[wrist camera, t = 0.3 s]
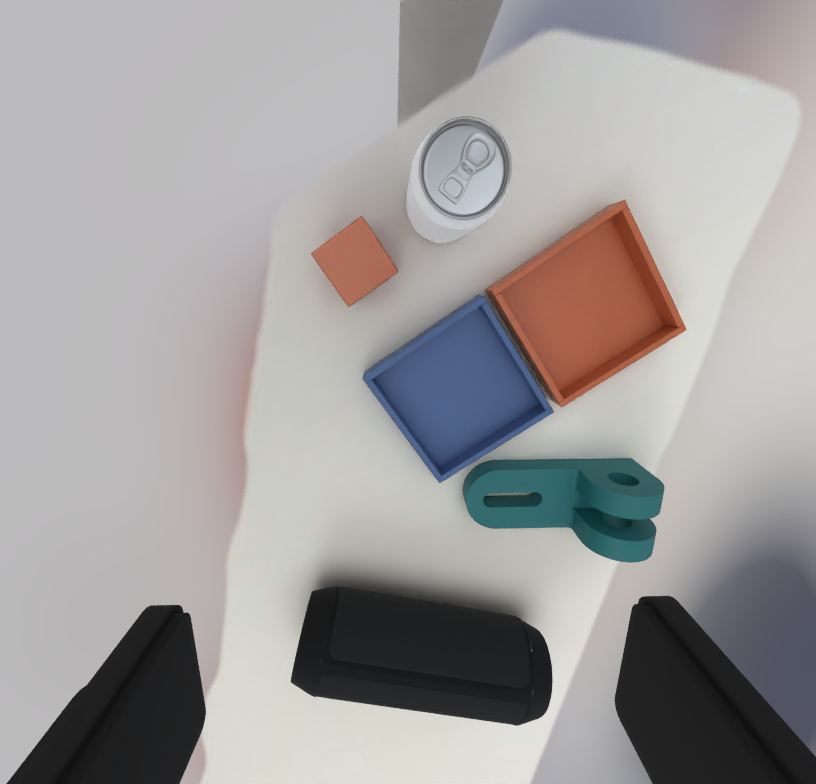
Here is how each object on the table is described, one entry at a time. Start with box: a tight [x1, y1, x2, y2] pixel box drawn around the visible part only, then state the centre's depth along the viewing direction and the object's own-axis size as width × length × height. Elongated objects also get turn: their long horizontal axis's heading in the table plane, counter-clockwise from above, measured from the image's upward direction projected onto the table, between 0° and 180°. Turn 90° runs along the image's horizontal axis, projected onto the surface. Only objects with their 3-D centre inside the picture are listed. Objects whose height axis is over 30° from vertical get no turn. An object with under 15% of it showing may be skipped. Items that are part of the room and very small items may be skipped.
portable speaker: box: [291, 586, 552, 726], centre depth 43 cm, size 26×10×10 cm, turn 77°
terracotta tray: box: [486, 200, 686, 407], centre depth 37 cm, size 13×13×2 cm
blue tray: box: [363, 295, 554, 483], centre depth 39 cm, size 13×13×2 cm
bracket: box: [463, 458, 664, 562], centre depth 40 cm, size 18×7×8 cm, turn 90°
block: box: [311, 216, 398, 307], centre depth 34 cm, size 5×5×5 cm
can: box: [406, 117, 511, 243], centre depth 30 cm, size 6×6×12 cm
